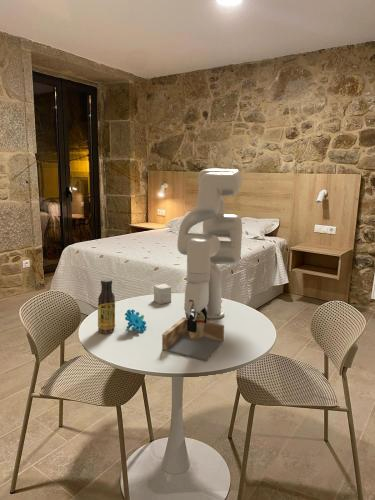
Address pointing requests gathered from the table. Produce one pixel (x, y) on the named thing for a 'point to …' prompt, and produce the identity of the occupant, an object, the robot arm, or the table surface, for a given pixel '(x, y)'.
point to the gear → (135, 321)
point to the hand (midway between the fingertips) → (197, 326)
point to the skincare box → (162, 293)
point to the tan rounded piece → (198, 327)
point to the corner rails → (181, 327)
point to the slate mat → (194, 347)
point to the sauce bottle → (106, 307)
